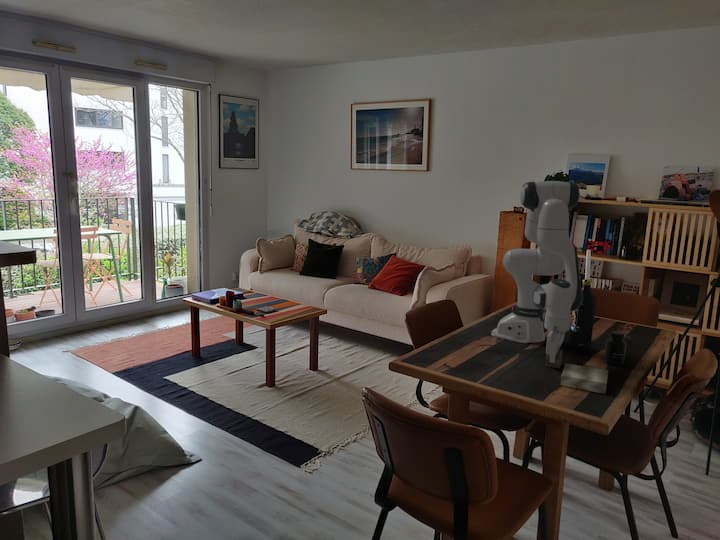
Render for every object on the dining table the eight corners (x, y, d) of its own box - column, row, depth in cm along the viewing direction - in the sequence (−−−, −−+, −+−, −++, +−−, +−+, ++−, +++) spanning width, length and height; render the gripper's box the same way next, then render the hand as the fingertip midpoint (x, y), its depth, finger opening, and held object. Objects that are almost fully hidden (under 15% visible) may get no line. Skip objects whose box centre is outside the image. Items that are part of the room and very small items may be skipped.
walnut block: (544, 366, 203) (546, 351, 202) (547, 362, 208) (548, 347, 206) (559, 368, 201) (560, 353, 200) (560, 364, 205) (562, 349, 204)
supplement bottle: (615, 367, 205) (619, 336, 203) (600, 361, 211) (603, 331, 208) (627, 364, 208) (631, 334, 206) (612, 358, 214) (615, 329, 212)
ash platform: (560, 386, 185) (561, 375, 185) (564, 373, 198) (565, 363, 197) (605, 395, 179) (606, 383, 178) (607, 381, 192) (608, 370, 191)
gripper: (562, 332, 191) (558, 369, 193) (569, 319, 209) (565, 353, 211) (543, 329, 194) (540, 366, 196) (552, 316, 212) (548, 350, 214)
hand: (553, 359), depth 204 cm, fingers closed on walnut block, 5 cm apart
